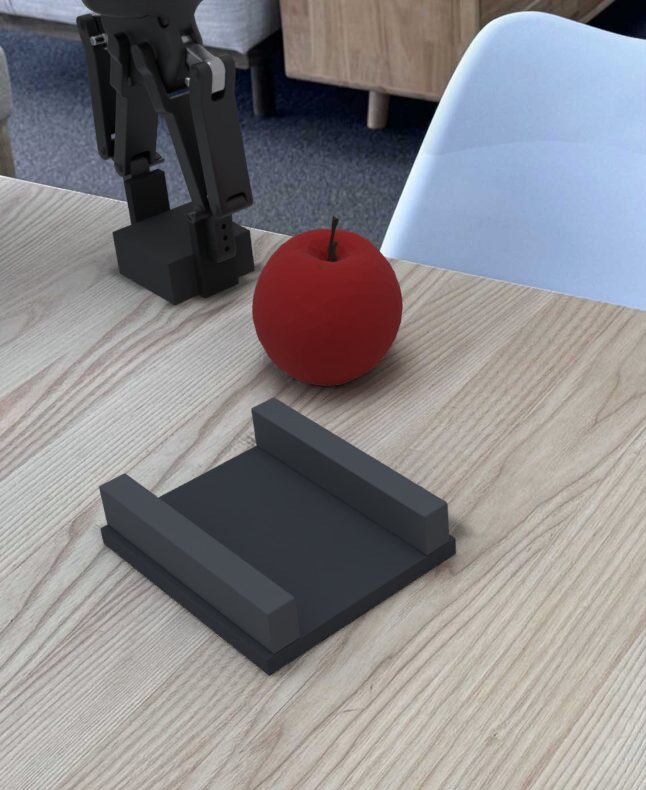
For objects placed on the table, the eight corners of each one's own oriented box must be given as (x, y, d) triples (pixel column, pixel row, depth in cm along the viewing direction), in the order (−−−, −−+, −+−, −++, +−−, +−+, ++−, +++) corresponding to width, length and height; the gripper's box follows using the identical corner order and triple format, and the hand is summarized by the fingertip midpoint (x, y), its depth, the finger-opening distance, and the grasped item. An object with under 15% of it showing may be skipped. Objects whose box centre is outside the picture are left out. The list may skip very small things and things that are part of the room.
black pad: (121, 284, 95) (111, 231, 93) (200, 251, 99) (193, 200, 97) (176, 318, 91) (167, 263, 89) (256, 282, 95) (250, 230, 93)
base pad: (103, 542, 73) (90, 489, 71) (285, 444, 80) (279, 393, 78) (269, 675, 64) (260, 619, 63) (456, 553, 72) (453, 498, 70)
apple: (272, 328, 91) (254, 187, 85) (411, 327, 91) (402, 185, 85) (249, 408, 83) (228, 258, 77) (401, 406, 83) (391, 256, 77)
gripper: (291, -46, 79) (323, 309, 91) (101, -107, 90) (153, 217, 103) (179, -15, 74) (229, 354, 87) (-6, -84, 85) (63, 252, 98)
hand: (188, 279), depth 95 cm, fingers closed on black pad, 6 cm apart
